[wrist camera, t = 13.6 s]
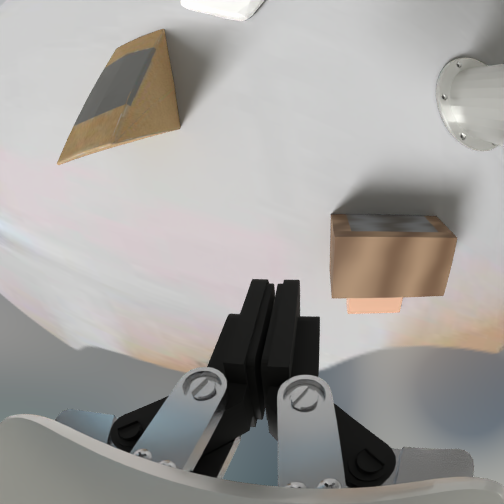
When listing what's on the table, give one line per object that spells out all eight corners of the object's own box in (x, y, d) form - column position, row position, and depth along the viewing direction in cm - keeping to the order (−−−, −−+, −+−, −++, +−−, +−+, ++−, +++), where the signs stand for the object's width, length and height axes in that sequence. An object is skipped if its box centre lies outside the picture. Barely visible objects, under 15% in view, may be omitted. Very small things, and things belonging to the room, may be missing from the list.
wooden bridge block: (436, 216, 33) (457, 237, 27) (427, 268, 36) (443, 295, 30) (330, 214, 36) (334, 236, 30) (329, 268, 40) (331, 298, 33)
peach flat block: (406, 228, 35) (413, 237, 32) (395, 300, 40) (399, 312, 38) (351, 227, 37) (354, 237, 34) (346, 301, 42) (347, 313, 40)
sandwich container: (166, 26, 28) (96, -1, 15) (183, 128, 34) (114, 144, 21) (115, 48, 30) (38, 39, 17) (130, 142, 36) (55, 166, 23)
